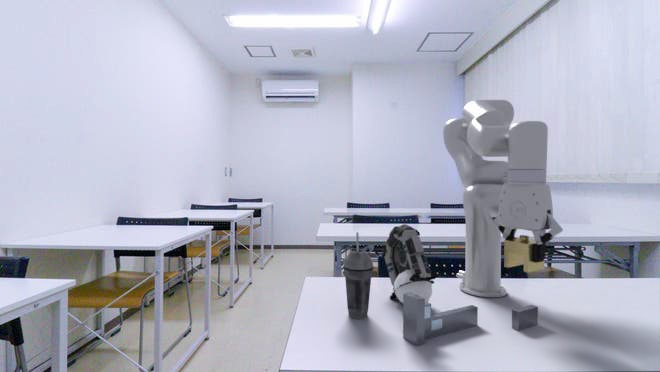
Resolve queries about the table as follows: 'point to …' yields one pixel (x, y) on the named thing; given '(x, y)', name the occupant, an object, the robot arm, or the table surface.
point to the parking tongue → (524, 317)
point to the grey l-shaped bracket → (433, 319)
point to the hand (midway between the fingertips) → (524, 257)
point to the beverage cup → (358, 282)
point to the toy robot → (407, 263)
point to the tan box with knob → (521, 254)
